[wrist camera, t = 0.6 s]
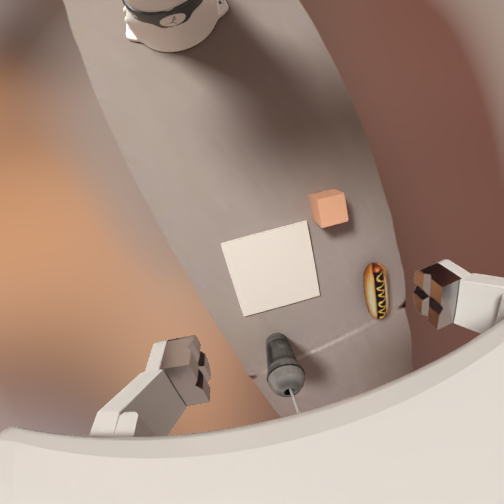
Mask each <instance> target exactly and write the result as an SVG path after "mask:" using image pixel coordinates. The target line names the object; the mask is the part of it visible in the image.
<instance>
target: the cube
mask: <svg viewBox="0 0 504 504" xmlns="http://www.w3.org/2000/svg"><path fill="white" fill-rule="evenodd" d="M309 199H310V204H311V209H312V214H313V219H314V221H315V222H316V223H317V224H318V225H319V226H320V227H321V228H325V227H328V226H332V225H336V224H340V223H343V222H347V221H349V220H348V213H347V207H346V200H345V194H344V193H343V192H340V191H338V190H336V189H331V190H327V191H322V192H318V193H314V194H310V195H309Z"/></svg>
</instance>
